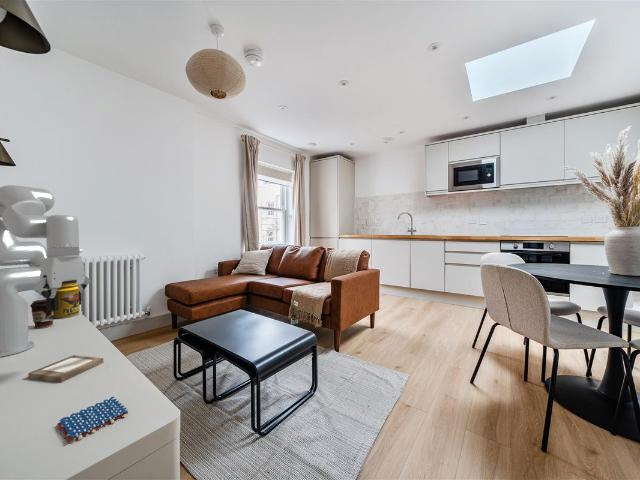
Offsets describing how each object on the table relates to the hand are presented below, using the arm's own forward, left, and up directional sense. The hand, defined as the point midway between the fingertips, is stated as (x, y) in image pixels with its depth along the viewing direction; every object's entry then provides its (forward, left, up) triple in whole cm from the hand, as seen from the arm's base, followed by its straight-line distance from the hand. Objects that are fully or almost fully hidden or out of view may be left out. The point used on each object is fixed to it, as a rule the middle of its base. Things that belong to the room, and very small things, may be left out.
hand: (65, 306), depth 84 cm
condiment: (0, 0, -3) cm, 3 cm away
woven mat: (+35, -18, -21) cm, 45 cm away
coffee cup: (-58, +29, -20) cm, 68 cm away
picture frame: (+2, -1, -20) cm, 20 cm away
